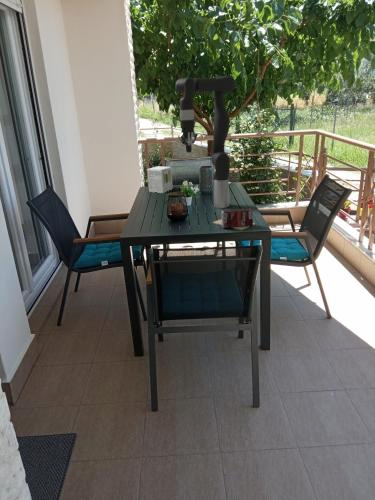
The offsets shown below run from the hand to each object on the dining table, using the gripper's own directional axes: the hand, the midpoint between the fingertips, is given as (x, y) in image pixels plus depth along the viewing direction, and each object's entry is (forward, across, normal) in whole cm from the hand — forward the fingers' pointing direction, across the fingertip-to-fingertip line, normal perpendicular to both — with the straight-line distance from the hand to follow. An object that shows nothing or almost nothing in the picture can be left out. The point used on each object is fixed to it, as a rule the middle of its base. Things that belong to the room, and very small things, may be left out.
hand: (188, 152), depth 212 cm
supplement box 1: (+37, +36, +70) cm, 87 cm away
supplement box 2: (+32, -4, -27) cm, 42 cm away
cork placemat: (+37, +5, -27) cm, 46 cm away
